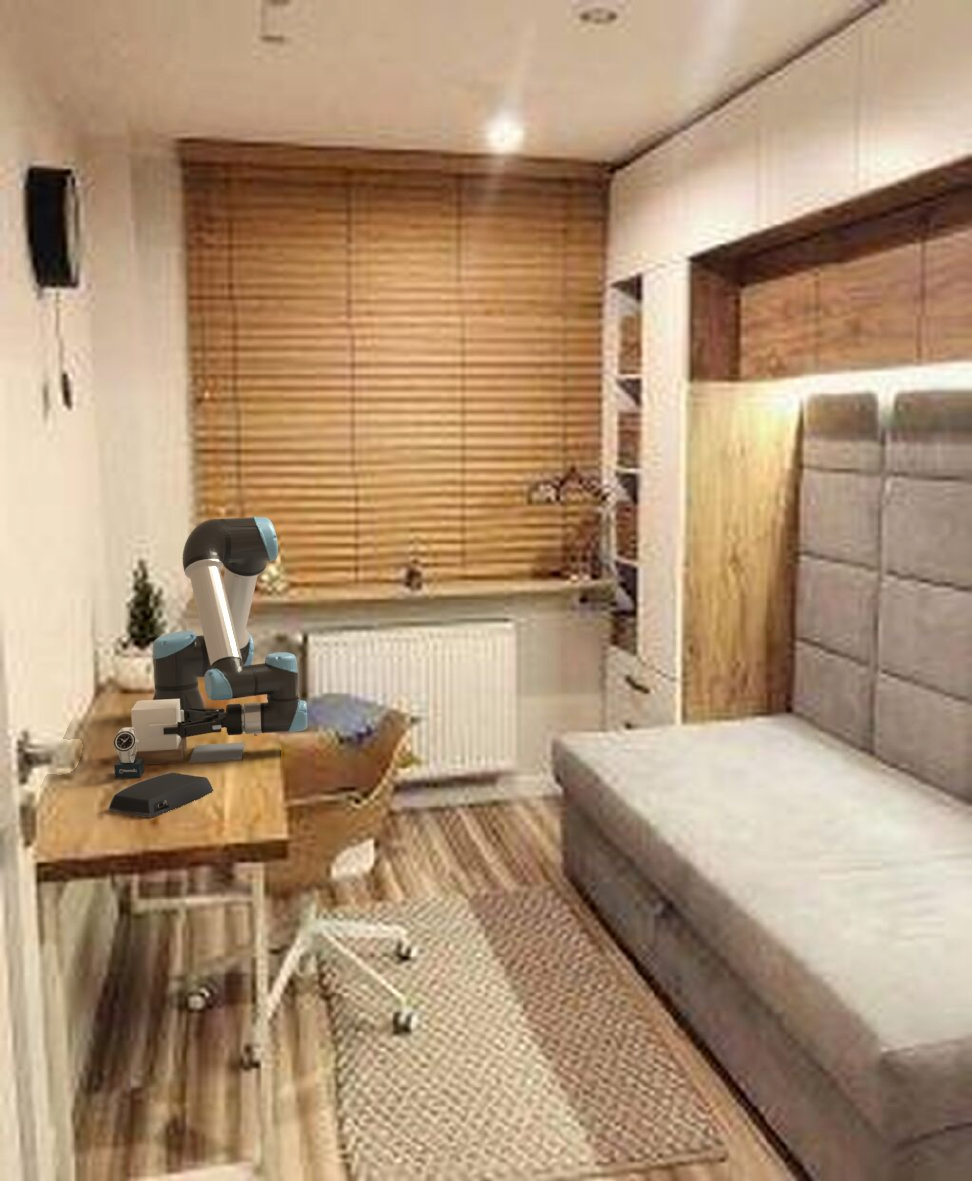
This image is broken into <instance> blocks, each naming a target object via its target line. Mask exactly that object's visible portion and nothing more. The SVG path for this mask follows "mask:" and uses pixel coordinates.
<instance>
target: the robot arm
mask: <svg viewBox="0 0 972 1181" xmlns="http://www.w3.org/2000/svg"><path fill="white" fill-rule="evenodd" d="M278 544H279V543H278V537H277V533H276V529H275V526H274V524H273V522H272V521H271V520H270V518H268V517H264V516H251V517H249V516H248V517H232V518H229V517H228V518H227V517H226V518H211V519H207V520H204V521H203V522H201V523H199V524H198V525H197V526H196V527H195V528H194V529H192V531H191V532H190V533H189V535H188V537H187V539H186V541H185V543H184V547H183V552H182V568H183V571H184V575H185V576H186V578H188V579H190V584H191V587H192V588H191V589H192V592H193V596H194V599H195V605H196V609H197V613H198V616H199V622H200V626H201V630H202V634H201V635H197V634H196V632H195V631H193V630H184V631H182V630H181V631H175V632H170V633H167V634H164V635H160V636H159V637H157V638H156V639H154V641H153V643H152V654H151V658H152V662H153V681H154V694H153V696H152V700H164V699H180V715H181V722H177V723H175V724H156V725H149V737H156V736H175V735H178V736H180V738H184V737H186V738H189V737H193V736H194V737H195V736H201V735H207V734H212V733H221V732H222V729H224V728H225V729H226V735H228V736H242V735H243V733H245V734H246V735H253V736H254V737H257V736H258V735H259V734H272V733H276V734H277V733H278V734H279V733H294V732H303V731H305V730H306V729H307V728H308V704H307V701H305V700H301V699H300V698H299V686H298V685H299V682H298V681H299V678H298V677H299V674H298V673H299V671H298V661H297V657H296V655H295V654H293V653H290V652H286V651H285V652H279V651H278V652H273V653H269V654H267V655H266V656H265V660H264V663H263V662H262V663H257V664H253V661H254V655H255V652H254V651H255V645H254V644H255V643H254V639H253V636H252V635H251V633H250V632H249V630H248V629H247V626H248V621H249V617H250V612H251V608H252V602H253V599H254V595H255V589H256V585H257V580H258V576H259V575H261V574H262V573H264V572H265V570H266V568H267V567H266V566H267V564H268V562H269V563H272V562H274V561H276V560H277V559H278V556H279V545H278ZM223 570H224V574H222V571H223ZM199 678H204V681H203V682H204V690H205V693H206V695H207V697H208V699H209V700H211V701H230V700H233V699H241V698H248V697H255V696H256V697H257V696H258V697H259V696H264V695H265V696H266V700H267V701H266V702H247V703H244V704H243V705H242V704H241V703H231V704H227V705H226V707H225V709H224V708H207V707H206V705H205V702H204V700H203V697H202V694H201V691H200V688H199ZM189 721H191V722H189ZM182 722H184V723H182Z"/></svg>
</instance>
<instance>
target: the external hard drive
mask: <svg viewBox="0 0 972 1181" xmlns="http://www.w3.org/2000/svg"><path fill="white" fill-rule="evenodd" d="M212 791H213V792H214V788H213V786H212V784H211V782H210V780H209V779H208V778H207V777H206V776H200V775H198V776H197V775H191V774H184V773H179V772H178V773H177V772H173V771H170V772H166V773H163V774H160V775H155V776H153V777H149V778H147V779H144V780H141V781H138V782H135V783H133V784H130V785H129V786H126V787H125V788H122V789H121V790H119V791H117V792H116V793H115V794H114V795H113V796H112V798H111V800H110V803H109V805H108V806H109V807H108V809H107V810H108V811H109V812H113V811H114V812H113V813H118V814H125V815H131V816H135V817H141V818H142V817H143V818H147V819H148V818H149V819H151V818H156V817H158V816H161V815H164V814H166V812H167V813H169V812H171V811H170V810H172V811H174V810H176V809H175V808H177V809H178V807H179V808H181V806H182V807H183V805H184V806H186V805H188V803H189V804H190V802H191V803H193V802H195V801H197V800H199V799H201V797H202V798H203V796H204V797H205V795H206V796H207V794H208V795H209V793H210V794H212V793H213V792H212ZM194 800H195V801H194ZM192 801H193V802H192ZM173 809H174V810H173ZM168 811H169V812H168ZM163 813H164V814H163Z"/></svg>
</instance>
